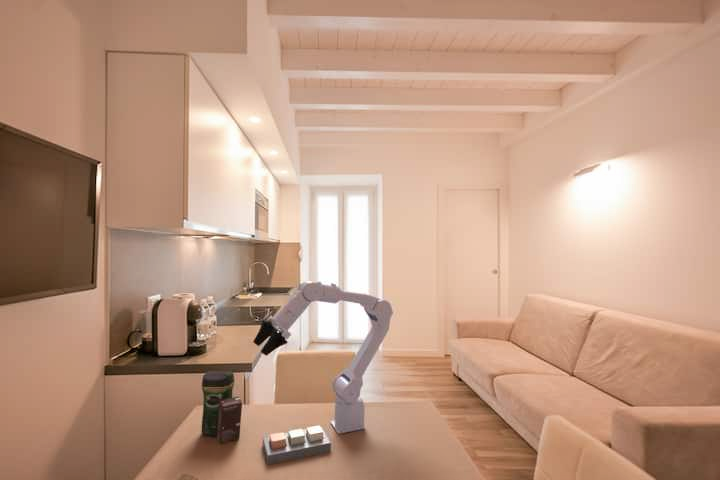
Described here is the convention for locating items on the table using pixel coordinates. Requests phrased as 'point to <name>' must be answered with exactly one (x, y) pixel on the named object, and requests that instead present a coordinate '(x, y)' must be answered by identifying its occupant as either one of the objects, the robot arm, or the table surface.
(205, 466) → the table surface
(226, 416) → the box
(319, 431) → the cream key
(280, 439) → the terracotta key
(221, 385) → the coffee jar
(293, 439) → the sage key
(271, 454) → the keypad
